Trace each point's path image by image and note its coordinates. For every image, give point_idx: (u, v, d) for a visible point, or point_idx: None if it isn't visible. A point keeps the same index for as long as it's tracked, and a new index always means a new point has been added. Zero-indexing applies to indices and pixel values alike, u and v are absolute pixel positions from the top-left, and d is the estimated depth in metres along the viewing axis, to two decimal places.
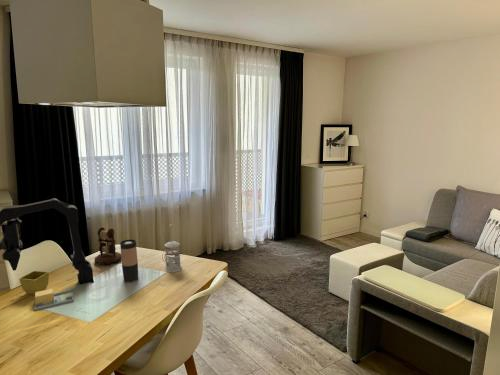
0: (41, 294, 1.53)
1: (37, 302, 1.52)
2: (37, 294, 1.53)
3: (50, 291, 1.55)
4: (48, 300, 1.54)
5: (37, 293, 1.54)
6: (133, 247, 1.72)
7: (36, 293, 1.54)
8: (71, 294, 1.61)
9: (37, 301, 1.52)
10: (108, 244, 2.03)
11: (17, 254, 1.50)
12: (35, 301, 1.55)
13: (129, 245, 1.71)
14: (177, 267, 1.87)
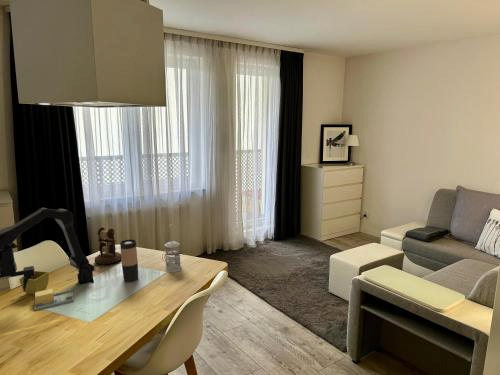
0: (41, 294, 1.53)
1: (37, 302, 1.52)
2: (37, 294, 1.53)
3: (50, 291, 1.55)
4: (48, 300, 1.54)
5: (37, 293, 1.54)
6: (133, 247, 1.72)
7: (36, 293, 1.54)
8: (71, 294, 1.61)
9: (37, 301, 1.52)
10: (108, 244, 2.03)
11: None
12: (35, 301, 1.55)
13: (129, 245, 1.71)
14: (177, 267, 1.87)
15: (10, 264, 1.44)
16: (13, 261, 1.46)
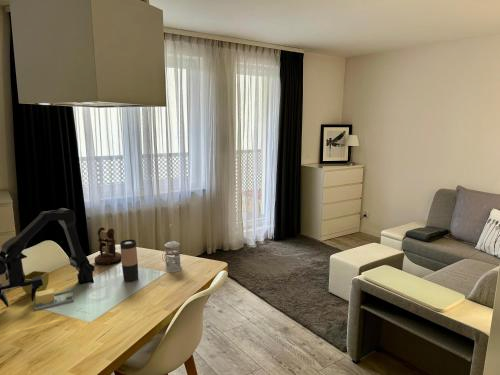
0: (41, 294, 1.53)
1: (37, 302, 1.52)
2: (37, 294, 1.53)
3: (51, 291, 1.55)
4: (48, 300, 1.54)
5: (37, 293, 1.54)
6: (133, 247, 1.72)
7: (36, 293, 1.54)
8: (71, 294, 1.61)
9: (37, 301, 1.52)
10: (108, 244, 2.03)
11: None
12: (35, 301, 1.55)
13: (129, 245, 1.71)
14: (177, 267, 1.87)
15: (19, 274, 1.46)
16: (22, 271, 1.48)
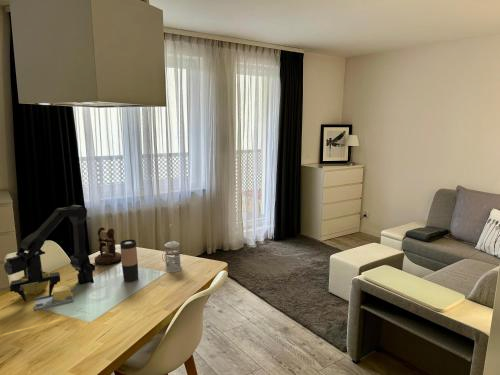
0: (59, 290, 1.56)
1: (55, 298, 1.55)
2: (54, 290, 1.56)
3: (67, 288, 1.59)
4: (65, 296, 1.57)
5: (55, 289, 1.57)
6: (133, 247, 1.72)
7: (54, 289, 1.57)
8: (71, 294, 1.61)
9: (55, 297, 1.55)
10: (108, 244, 2.03)
11: None
12: (35, 301, 1.55)
13: (129, 245, 1.71)
14: (177, 267, 1.87)
15: (38, 270, 1.50)
16: (40, 267, 1.51)
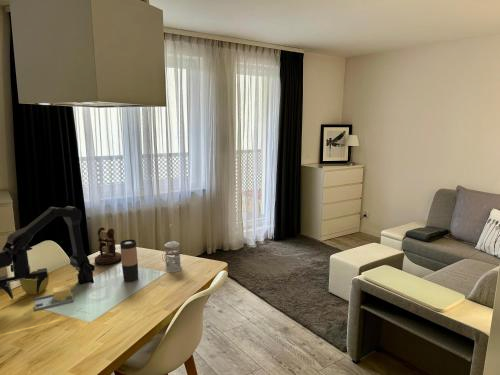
0: (59, 290, 1.56)
1: (55, 298, 1.55)
2: (54, 290, 1.56)
3: (67, 288, 1.59)
4: (65, 296, 1.57)
5: (55, 289, 1.57)
6: (133, 247, 1.72)
7: (54, 289, 1.57)
8: (71, 294, 1.61)
9: (55, 297, 1.55)
10: (108, 244, 2.03)
11: None
12: (35, 301, 1.55)
13: (129, 245, 1.71)
14: (177, 267, 1.87)
15: (24, 266, 1.47)
16: (27, 263, 1.48)
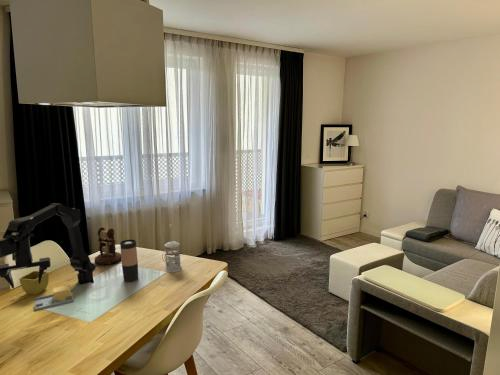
0: (59, 290, 1.56)
1: (55, 298, 1.55)
2: (54, 290, 1.56)
3: (67, 288, 1.59)
4: (65, 296, 1.57)
5: (55, 289, 1.57)
6: (133, 247, 1.72)
7: (54, 289, 1.57)
8: (71, 294, 1.61)
9: (55, 297, 1.55)
10: (108, 244, 2.03)
11: None
12: (35, 301, 1.55)
13: (129, 245, 1.71)
14: (177, 267, 1.87)
15: (26, 254, 1.40)
16: (29, 251, 1.42)
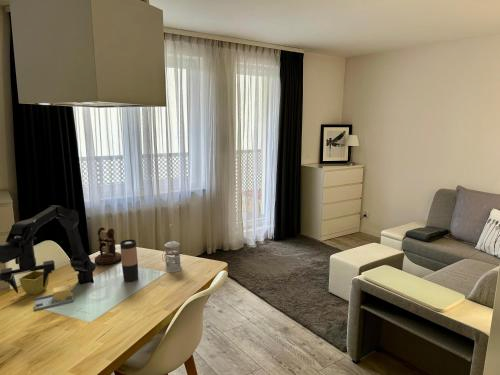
0: (59, 290, 1.56)
1: (55, 298, 1.55)
2: (54, 290, 1.56)
3: (67, 288, 1.59)
4: (65, 296, 1.57)
5: (55, 289, 1.57)
6: (133, 247, 1.72)
7: (54, 289, 1.57)
8: (71, 294, 1.61)
9: (55, 297, 1.55)
10: (108, 244, 2.03)
11: None
12: (35, 301, 1.55)
13: (129, 245, 1.71)
14: (177, 267, 1.87)
15: (30, 258, 1.37)
16: (33, 255, 1.39)
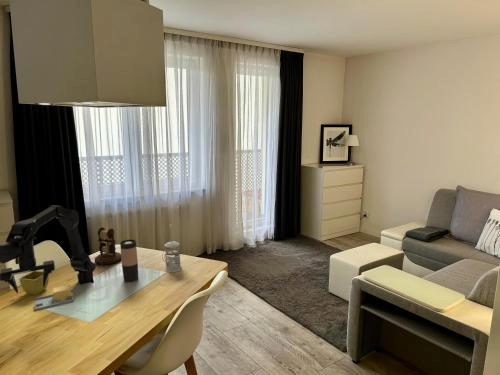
0: (59, 290, 1.56)
1: (55, 298, 1.55)
2: (54, 290, 1.56)
3: (67, 288, 1.59)
4: (65, 296, 1.57)
5: (55, 289, 1.57)
6: (133, 247, 1.72)
7: (54, 289, 1.57)
8: (71, 294, 1.61)
9: (55, 297, 1.55)
10: (108, 244, 2.03)
11: None
12: (35, 301, 1.55)
13: (129, 245, 1.71)
14: (177, 267, 1.87)
15: (30, 258, 1.37)
16: (33, 255, 1.39)
